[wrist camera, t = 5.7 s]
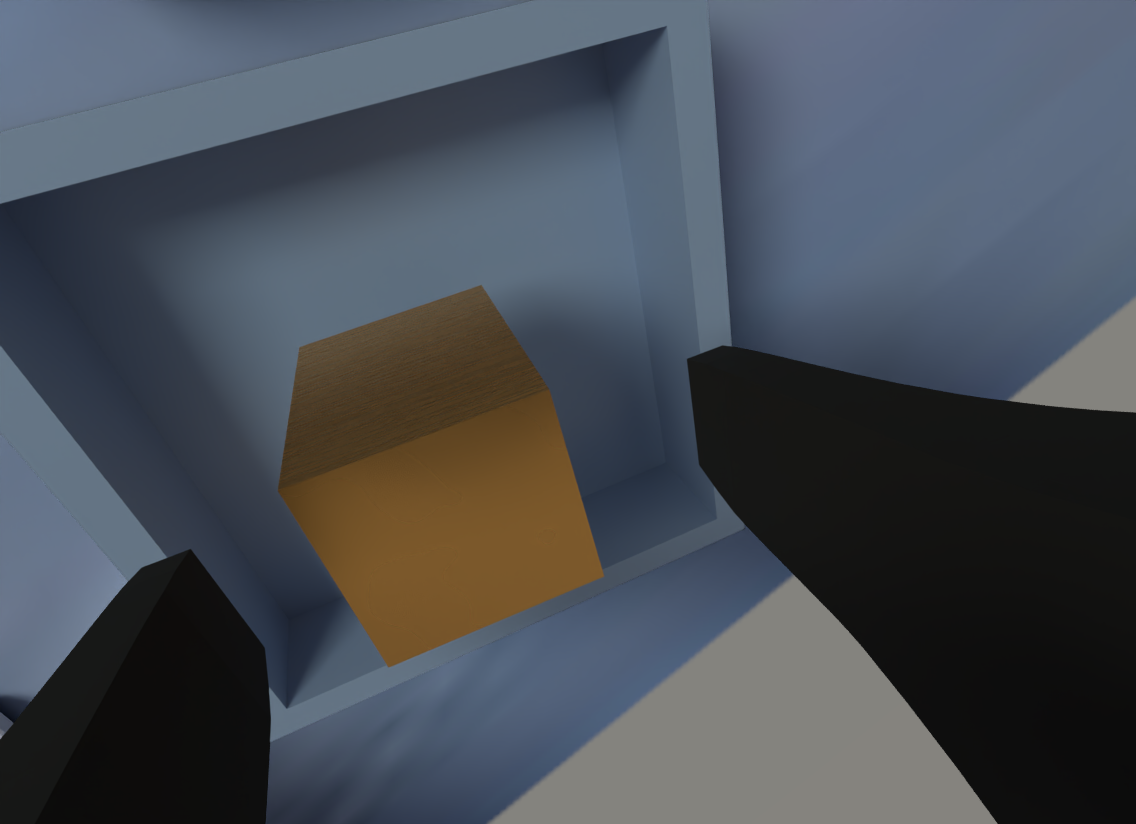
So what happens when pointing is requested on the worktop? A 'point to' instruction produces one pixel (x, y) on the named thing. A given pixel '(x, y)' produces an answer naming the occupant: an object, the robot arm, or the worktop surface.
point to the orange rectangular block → (433, 475)
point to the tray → (368, 293)
